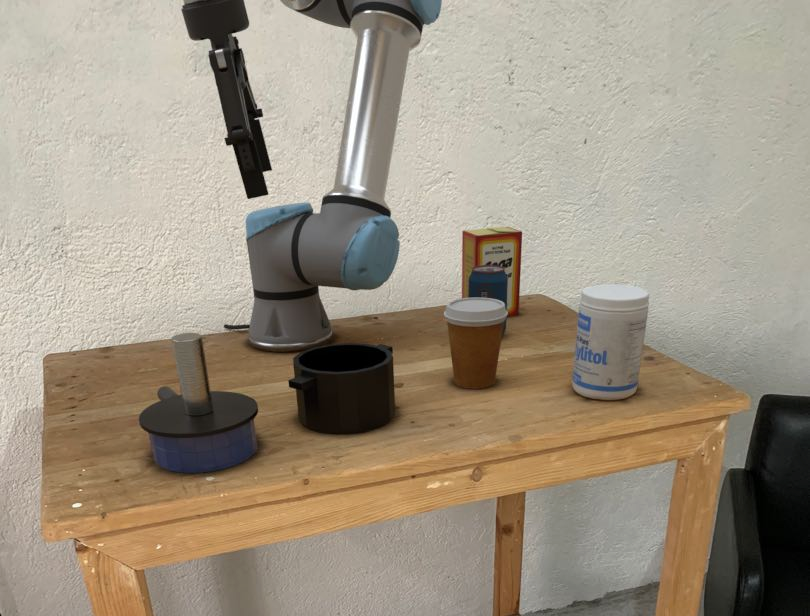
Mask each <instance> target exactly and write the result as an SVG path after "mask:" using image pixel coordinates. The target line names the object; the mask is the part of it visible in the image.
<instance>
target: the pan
mask: <svg viewBox="0 0 810 616" xmlns="http://www.w3.org/2000/svg"><path fill="white" fill-rule="evenodd" d="M147 433H148V432H147ZM148 439H149V444H150V448H151V453H152V458H153V459H154V462H155V463H156V465H157V466H158V467H160V468H162V469H164V470H167V471H170V472H176V473H184V474H198V473H209V472H210V473H211V472H217V471H220V470H225V469H228V468H232V467H234V466H237V465H240V464H241V463H244V462H245V461H247V460H249V459H250V458H251V457H252V456H253V455H254V454H255V453H256V452H257V449H258V439H257V431H256V425H255V418H254V419H253V420H251V421H250V422H249V423H247V424H245V425H243V426H241V427H239V428H236V429H234V430H231V431H228V432H224V433H220V434H216V435H211V436H204V437H195V438H169V437H162V436H157V435H153V434H151V433H148Z"/></svg>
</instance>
